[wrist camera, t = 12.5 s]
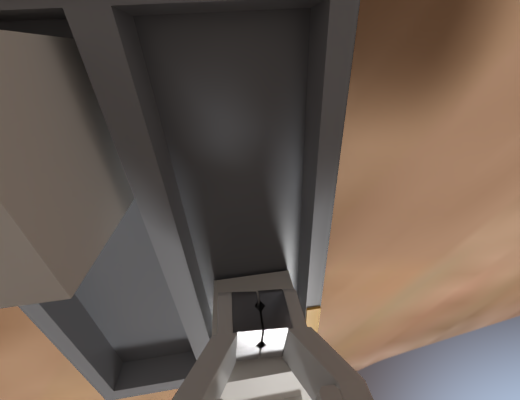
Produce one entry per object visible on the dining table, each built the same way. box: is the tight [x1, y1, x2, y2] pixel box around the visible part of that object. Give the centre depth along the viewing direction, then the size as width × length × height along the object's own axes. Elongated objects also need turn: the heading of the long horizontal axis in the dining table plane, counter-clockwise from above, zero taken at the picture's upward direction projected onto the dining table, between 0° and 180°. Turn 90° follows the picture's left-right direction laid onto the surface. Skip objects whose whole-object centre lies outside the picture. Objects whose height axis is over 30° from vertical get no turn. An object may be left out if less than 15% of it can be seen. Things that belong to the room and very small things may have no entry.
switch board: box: [0, 0, 360, 400], centre depth 11 cm, size 12×19×3 cm, turn 3°
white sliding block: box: [212, 270, 312, 400], centre depth 11 cm, size 4×5×5 cm
